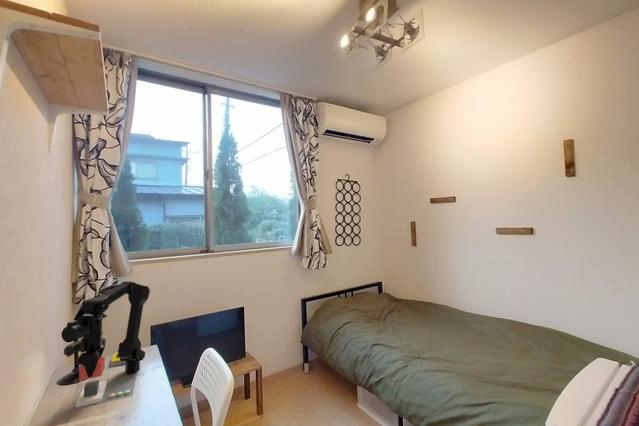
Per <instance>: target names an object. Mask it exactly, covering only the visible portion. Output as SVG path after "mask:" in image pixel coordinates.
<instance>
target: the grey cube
mask: <svg viewBox="0 0 639 426" xmlns="http://www.w3.org/2000/svg"><path fill="white" fill-rule="evenodd" d="M99 382H100V379H99V380H98V379H97V380H93V381H88V382H86V383H85V385H84V386H85V387H84V386H83V387H84V397H87V396H92V395H96V394H97V393H98V390H99Z"/></svg>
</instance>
